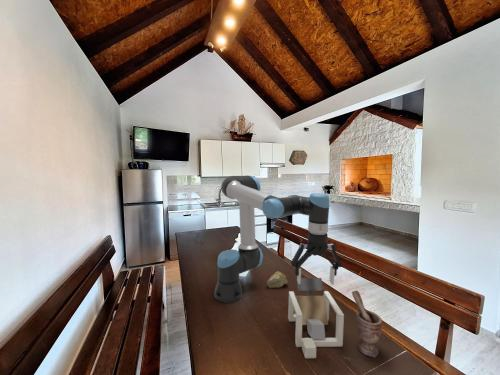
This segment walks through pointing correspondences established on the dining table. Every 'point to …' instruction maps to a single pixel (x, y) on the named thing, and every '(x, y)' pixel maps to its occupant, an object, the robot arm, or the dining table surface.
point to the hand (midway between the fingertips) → (315, 282)
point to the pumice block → (309, 348)
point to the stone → (315, 329)
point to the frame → (339, 318)
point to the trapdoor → (312, 301)
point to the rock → (277, 280)
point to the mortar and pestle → (367, 328)
